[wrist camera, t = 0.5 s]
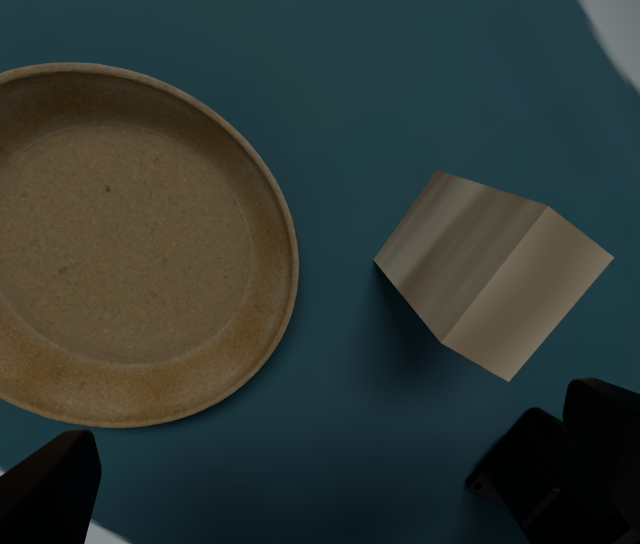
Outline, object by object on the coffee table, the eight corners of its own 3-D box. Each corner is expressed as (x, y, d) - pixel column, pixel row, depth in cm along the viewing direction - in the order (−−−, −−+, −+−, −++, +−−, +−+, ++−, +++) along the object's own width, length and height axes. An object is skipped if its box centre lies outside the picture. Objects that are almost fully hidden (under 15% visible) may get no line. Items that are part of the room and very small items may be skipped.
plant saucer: (101, 442, 22) (83, 483, 20) (-158, 198, 17) (-226, 213, 15) (349, 295, 22) (361, 319, 19) (160, -11, 16) (144, -32, 14)
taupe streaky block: (484, 204, 21) (613, 257, 13) (420, 289, 22) (508, 382, 14) (437, 169, 20) (548, 205, 12) (373, 259, 21) (441, 343, 13)
